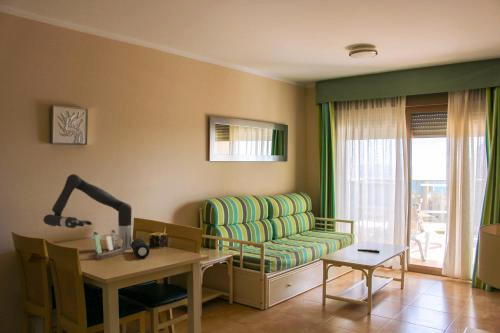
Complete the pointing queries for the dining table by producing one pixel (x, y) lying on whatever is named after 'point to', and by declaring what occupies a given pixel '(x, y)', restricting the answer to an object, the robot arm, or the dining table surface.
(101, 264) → the dining table surface
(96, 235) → the green lever
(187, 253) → the dining table surface
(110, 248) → the cream paddle
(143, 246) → the portable speaker
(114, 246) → the steel lever
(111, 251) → the switch bank
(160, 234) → the candle
